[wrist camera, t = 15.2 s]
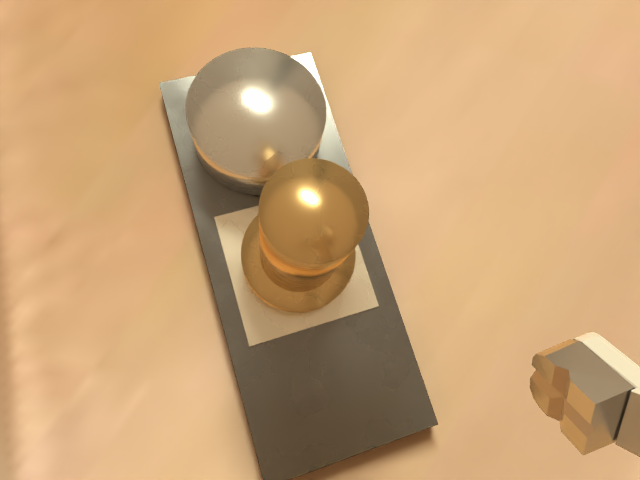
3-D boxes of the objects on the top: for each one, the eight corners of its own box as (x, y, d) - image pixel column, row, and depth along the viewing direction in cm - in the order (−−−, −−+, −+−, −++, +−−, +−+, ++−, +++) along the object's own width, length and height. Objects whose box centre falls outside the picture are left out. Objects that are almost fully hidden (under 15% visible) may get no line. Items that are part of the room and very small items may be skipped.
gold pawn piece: (362, 297, 25) (416, 264, 16) (258, 328, 24) (256, 312, 15) (330, 199, 26) (364, 119, 17) (230, 225, 25) (212, 154, 16)
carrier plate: (431, 421, 24) (462, 433, 21) (265, 482, 23) (265, 508, 19) (309, 62, 29) (316, 17, 25) (162, 92, 27) (146, 48, 23)
